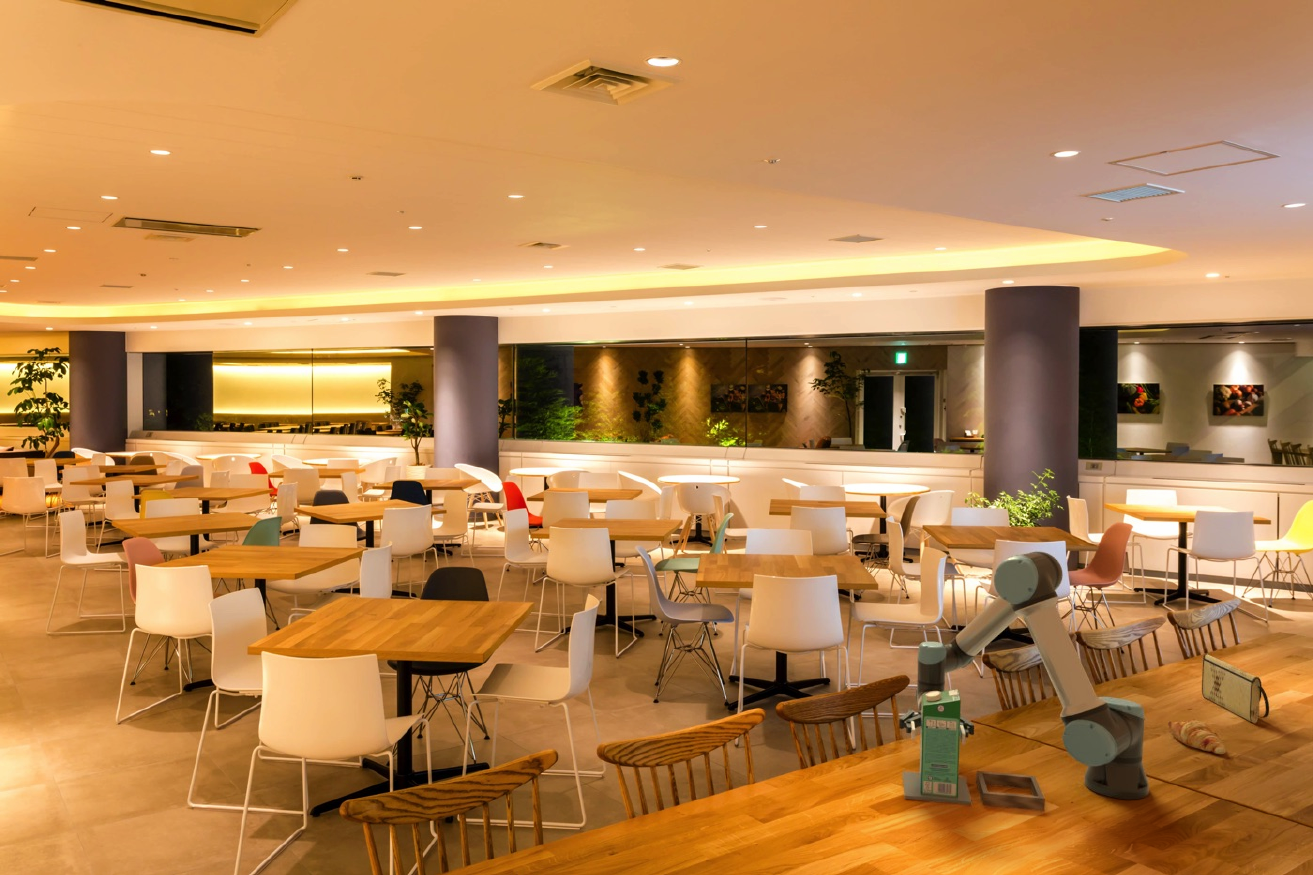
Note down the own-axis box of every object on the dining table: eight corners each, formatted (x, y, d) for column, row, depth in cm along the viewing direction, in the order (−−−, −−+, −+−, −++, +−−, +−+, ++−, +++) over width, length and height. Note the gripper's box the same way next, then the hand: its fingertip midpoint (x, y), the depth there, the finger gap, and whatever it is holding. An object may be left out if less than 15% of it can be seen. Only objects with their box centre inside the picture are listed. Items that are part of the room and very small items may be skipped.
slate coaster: (965, 779, 260) (965, 776, 260) (971, 805, 245) (971, 801, 245) (902, 774, 264) (902, 771, 264) (904, 798, 248) (905, 795, 248)
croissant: (1232, 768, 280) (1244, 743, 280) (1207, 754, 277) (1219, 729, 278) (1175, 740, 301) (1187, 716, 301) (1151, 727, 298) (1163, 703, 298)
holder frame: (1034, 787, 256) (1034, 776, 256) (1044, 810, 242) (1044, 798, 242) (976, 782, 259) (976, 770, 259) (982, 804, 245) (983, 793, 245)
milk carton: (919, 779, 258) (921, 685, 256) (955, 783, 256) (958, 688, 254) (920, 793, 249) (923, 696, 248) (957, 797, 247) (960, 699, 246)
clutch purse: (1275, 726, 306) (1277, 678, 305) (1253, 726, 306) (1255, 678, 305) (1216, 695, 336) (1218, 652, 335) (1196, 695, 335) (1198, 652, 334)
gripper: (977, 726, 269) (987, 755, 247) (887, 719, 274) (889, 747, 252) (978, 699, 268) (988, 726, 247) (888, 692, 273) (890, 718, 252)
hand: (938, 737), depth 250 cm, fingers open, 11 cm apart
